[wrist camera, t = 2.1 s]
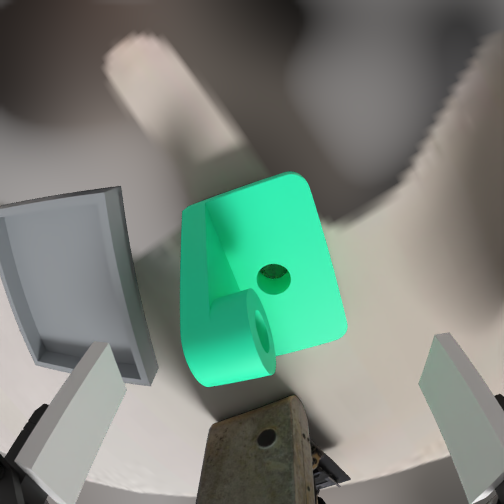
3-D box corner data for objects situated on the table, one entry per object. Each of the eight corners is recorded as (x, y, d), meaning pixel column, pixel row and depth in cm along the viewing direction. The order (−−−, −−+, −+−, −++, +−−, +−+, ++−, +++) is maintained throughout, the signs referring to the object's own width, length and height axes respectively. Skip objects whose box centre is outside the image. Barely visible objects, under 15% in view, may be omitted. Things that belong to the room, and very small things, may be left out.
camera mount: (343, 316, 24) (374, 415, 14) (251, 341, 25) (239, 444, 15) (299, 165, 20) (324, 191, 10) (192, 202, 21) (129, 257, 12)
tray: (120, 185, 21) (104, 192, 18) (158, 368, 26) (150, 386, 24) (2, 205, 22) (-16, 212, 20) (47, 352, 28) (35, 365, 25)
